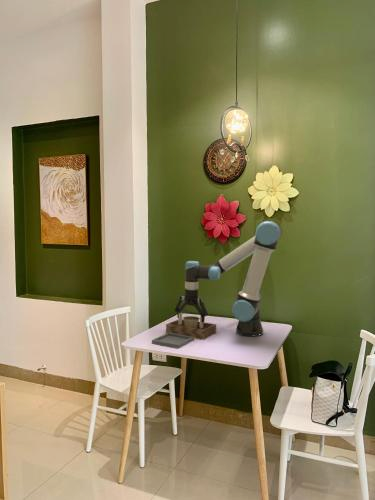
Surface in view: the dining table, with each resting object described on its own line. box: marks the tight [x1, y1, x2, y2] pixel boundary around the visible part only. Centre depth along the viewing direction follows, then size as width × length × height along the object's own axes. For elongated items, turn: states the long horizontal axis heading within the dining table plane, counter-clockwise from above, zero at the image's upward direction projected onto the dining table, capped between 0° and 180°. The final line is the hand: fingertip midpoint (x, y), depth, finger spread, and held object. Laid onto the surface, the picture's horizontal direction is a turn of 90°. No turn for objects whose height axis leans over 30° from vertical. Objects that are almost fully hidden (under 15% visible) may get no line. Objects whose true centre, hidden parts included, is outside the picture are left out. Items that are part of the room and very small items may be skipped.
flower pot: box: [182, 315, 200, 329], centre depth 218 cm, size 9×9×9 cm
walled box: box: [165, 318, 217, 341], centre depth 218 cm, size 24×15×5 cm, turn 60°
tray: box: [151, 333, 195, 349], centre depth 202 cm, size 16×16×2 cm
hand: (190, 326), depth 218 cm, fingers open, 13 cm apart
